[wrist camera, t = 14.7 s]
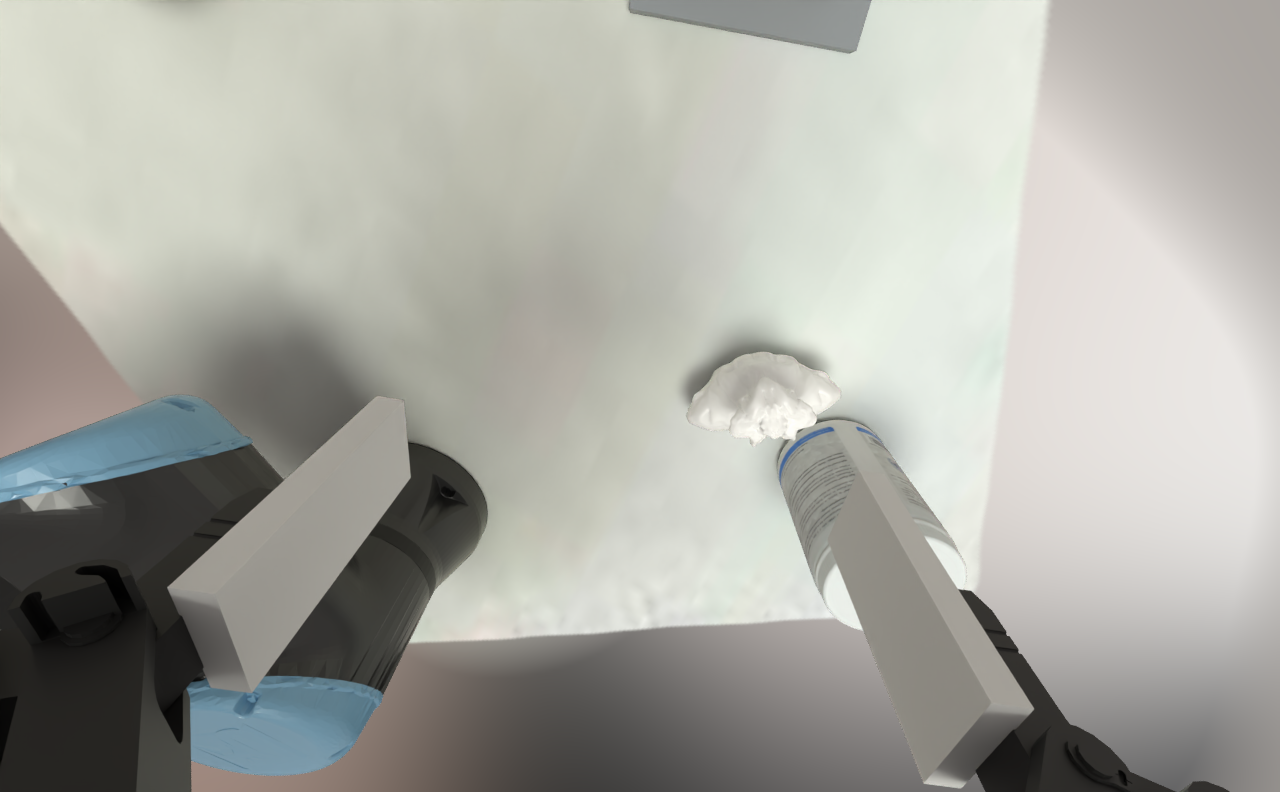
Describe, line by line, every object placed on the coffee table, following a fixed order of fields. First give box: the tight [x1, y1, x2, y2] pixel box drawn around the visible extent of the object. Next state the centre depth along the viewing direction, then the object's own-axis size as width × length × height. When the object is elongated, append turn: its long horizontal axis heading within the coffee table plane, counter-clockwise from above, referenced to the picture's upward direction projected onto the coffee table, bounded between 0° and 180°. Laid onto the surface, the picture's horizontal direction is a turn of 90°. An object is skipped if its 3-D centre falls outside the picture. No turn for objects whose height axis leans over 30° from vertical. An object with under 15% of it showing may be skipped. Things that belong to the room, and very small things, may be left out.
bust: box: [686, 352, 841, 447], centre depth 38 cm, size 12×8×11 cm
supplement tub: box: [777, 420, 967, 630], centre depth 39 cm, size 10×10×15 cm
